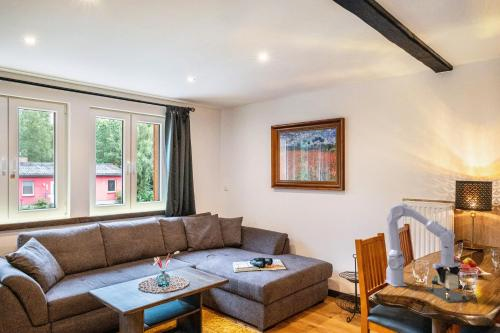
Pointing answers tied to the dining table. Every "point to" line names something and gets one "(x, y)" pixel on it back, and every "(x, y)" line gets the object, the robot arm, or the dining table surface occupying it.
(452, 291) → the chassis
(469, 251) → the dining table surface
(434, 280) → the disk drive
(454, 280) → the module block
